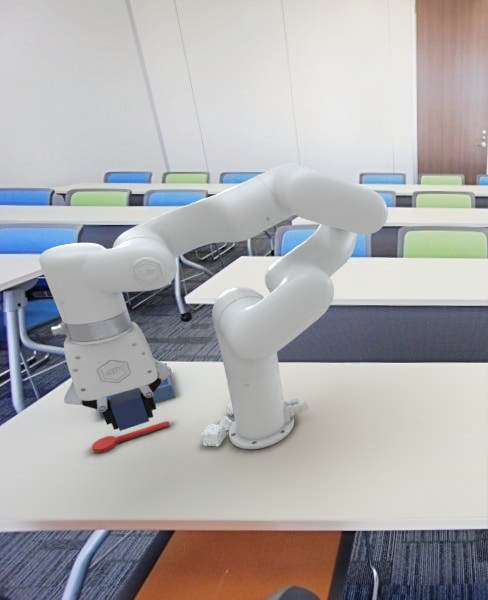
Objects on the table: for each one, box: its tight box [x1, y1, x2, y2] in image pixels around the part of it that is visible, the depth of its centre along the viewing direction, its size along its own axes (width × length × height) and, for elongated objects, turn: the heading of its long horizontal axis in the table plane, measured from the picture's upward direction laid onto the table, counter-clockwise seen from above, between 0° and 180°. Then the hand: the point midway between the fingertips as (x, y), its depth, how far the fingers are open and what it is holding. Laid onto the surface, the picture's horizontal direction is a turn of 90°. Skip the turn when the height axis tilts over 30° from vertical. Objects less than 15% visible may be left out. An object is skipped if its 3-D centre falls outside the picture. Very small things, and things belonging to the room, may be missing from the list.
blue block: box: [110, 388, 150, 432], centre depth 67 cm, size 4×4×5 cm
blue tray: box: [99, 362, 176, 419], centre depth 92 cm, size 13×11×4 cm
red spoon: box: [91, 421, 170, 454], centre depth 80 cm, size 12×4×1 cm, turn 128°
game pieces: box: [200, 400, 234, 447], centre depth 84 cm, size 12×3×3 cm, turn 1°
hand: (133, 418), depth 68 cm, fingers closed on blue block, 4 cm apart
